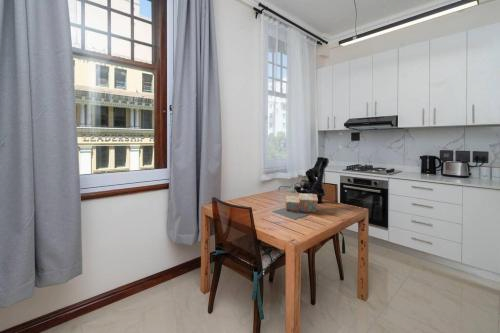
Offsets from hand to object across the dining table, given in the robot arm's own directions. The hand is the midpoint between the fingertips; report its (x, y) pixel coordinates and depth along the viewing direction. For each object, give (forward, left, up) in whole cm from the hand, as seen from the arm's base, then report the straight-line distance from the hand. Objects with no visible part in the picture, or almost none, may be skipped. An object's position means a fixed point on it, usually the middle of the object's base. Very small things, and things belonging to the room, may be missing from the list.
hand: (300, 200), depth 177 cm
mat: (+11, 0, -8) cm, 14 cm away
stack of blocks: (0, 0, -6) cm, 6 cm away
